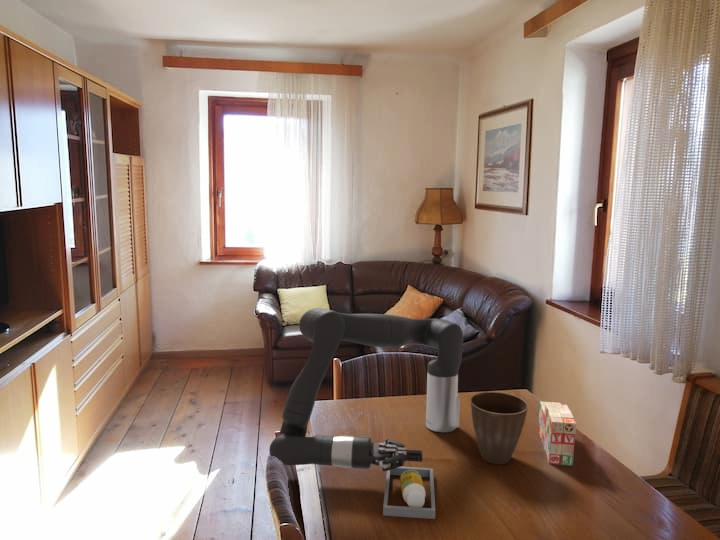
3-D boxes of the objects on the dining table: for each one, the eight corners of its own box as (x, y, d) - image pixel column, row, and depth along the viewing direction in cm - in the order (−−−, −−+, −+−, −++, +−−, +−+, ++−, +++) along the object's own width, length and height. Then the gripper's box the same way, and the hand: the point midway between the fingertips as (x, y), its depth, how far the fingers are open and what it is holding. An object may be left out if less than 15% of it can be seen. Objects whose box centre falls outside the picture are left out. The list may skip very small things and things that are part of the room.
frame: (387, 473, 143) (387, 465, 142) (432, 475, 142) (432, 468, 141) (383, 515, 124) (383, 507, 124) (435, 519, 123) (435, 510, 123)
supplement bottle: (412, 493, 135) (417, 516, 126) (394, 481, 135) (399, 503, 125) (425, 476, 135) (432, 499, 125) (408, 464, 134) (414, 486, 125)
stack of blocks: (537, 430, 169) (540, 391, 167) (559, 431, 168) (561, 392, 166) (548, 464, 148) (551, 420, 146) (573, 466, 147) (576, 422, 145)
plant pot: (534, 457, 151) (537, 402, 149) (507, 478, 141) (510, 418, 138) (486, 440, 161) (488, 387, 159) (457, 458, 151) (459, 402, 148)
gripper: (348, 450, 130) (423, 454, 128) (354, 426, 143) (422, 429, 141) (348, 480, 131) (422, 484, 129) (354, 453, 144) (421, 457, 142)
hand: (422, 456), depth 135 cm, fingers closed
